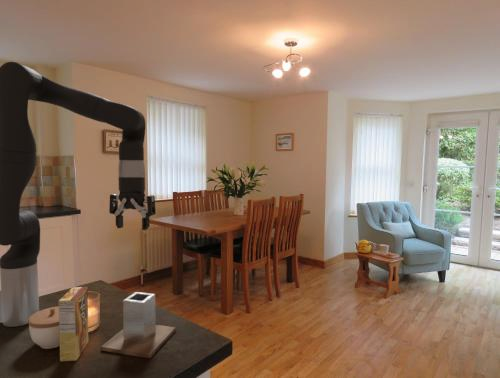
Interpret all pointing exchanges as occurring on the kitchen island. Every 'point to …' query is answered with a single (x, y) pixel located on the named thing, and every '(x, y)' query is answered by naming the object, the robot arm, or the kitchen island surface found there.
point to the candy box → (73, 323)
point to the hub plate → (139, 349)
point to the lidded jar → (45, 328)
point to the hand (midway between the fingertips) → (132, 228)
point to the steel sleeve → (139, 317)
